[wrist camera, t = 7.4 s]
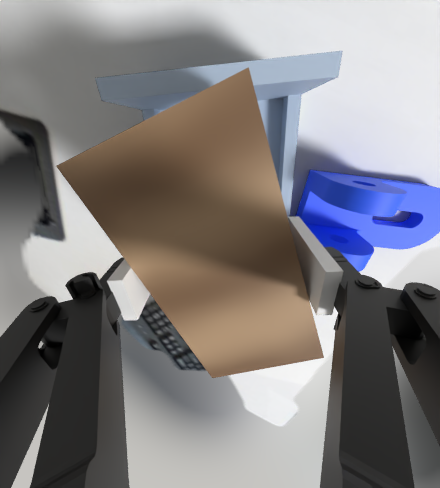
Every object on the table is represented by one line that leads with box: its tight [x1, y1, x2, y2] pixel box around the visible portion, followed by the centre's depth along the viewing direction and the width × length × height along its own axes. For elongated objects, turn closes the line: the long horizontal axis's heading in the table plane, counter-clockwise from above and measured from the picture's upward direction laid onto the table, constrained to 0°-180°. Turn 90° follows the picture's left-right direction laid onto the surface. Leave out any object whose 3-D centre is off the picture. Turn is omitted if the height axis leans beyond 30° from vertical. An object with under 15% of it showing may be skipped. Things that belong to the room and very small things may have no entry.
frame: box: [95, 51, 342, 217], centre depth 22 cm, size 21×15×10 cm
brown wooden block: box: [57, 67, 324, 378], centre depth 13 cm, size 16×8×6 cm, turn 22°
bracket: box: [296, 170, 440, 272], centre depth 23 cm, size 18×8×9 cm, turn 84°
